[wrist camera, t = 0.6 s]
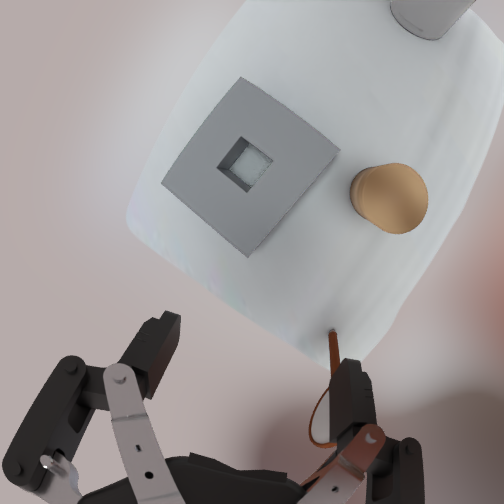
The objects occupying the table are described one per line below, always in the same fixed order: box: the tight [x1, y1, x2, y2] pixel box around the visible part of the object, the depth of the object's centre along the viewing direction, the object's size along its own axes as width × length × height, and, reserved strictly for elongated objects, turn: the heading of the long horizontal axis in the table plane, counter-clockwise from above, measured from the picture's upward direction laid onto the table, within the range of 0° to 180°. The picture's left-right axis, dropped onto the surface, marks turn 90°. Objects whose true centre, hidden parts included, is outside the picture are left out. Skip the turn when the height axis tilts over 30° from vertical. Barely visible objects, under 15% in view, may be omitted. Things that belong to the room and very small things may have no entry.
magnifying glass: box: [309, 330, 340, 448], centre depth 28 cm, size 9×2×20 cm, turn 149°
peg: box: [350, 163, 428, 234], centre depth 26 cm, size 6×6×13 cm
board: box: [161, 77, 340, 258], centre depth 32 cm, size 16×14×5 cm
